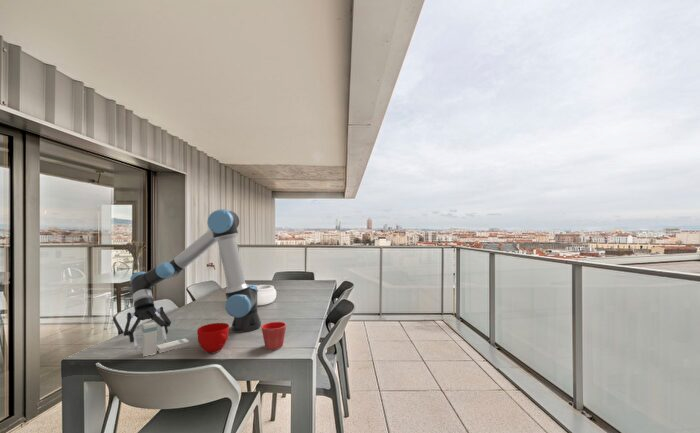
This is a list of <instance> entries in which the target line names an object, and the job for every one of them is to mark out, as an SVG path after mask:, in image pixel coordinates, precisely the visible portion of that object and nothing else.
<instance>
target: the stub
mask: <svg viewBox="0 0 700 433" xmlns="http://www.w3.org/2000/svg"><path fill="white" fill-rule="evenodd" d="M141 331H142V332H141V335H142V336H141V354H142V353H143V355H144V356H146V355H149V354H153V353H158V352H157V345H158V342H157V340H158V339H157V337H158V335H157V334H158V332H157V331H158V324H157V323H156V322H155V321H152V322H146V323H145V322H144V323H142V327H141ZM143 355H142V356H143ZM144 356H143V357H144Z"/></svg>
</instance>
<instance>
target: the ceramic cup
mask: <svg viewBox="0 0 700 433" xmlns="http://www.w3.org/2000/svg"><path fill="white" fill-rule="evenodd" d="M229 331H230V325H229V324H228V323H225V322H216V323H210V324H204V325H201V326H200V327H198V328H197V330H196V335H197V341H198V344H199V346H200V348H201V349H202V350H203V351H204V352H205V353H206V352H208V353H207V354H213V353H212V352H214V353H218V352H221V351H222V348H223V347H224V346H225V345H226V344H227V341H228V338H229V333H230V332H229ZM217 351H218V352H217Z"/></svg>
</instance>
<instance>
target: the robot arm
mask: <svg viewBox="0 0 700 433" xmlns="http://www.w3.org/2000/svg"><path fill="white" fill-rule="evenodd" d="M239 225H240V218H239V216H238V214H236V212H233V211H232V210H227V209H217V210H214V211H212V212H211V213H210V214H209V216H208V218H207V227H208V228H209V229H208V230H207V231H206V232H205V233H203V234H202V235H201V236H200V237H198V238H197V239H196V240H195V241H194V242H193V243H191V244H190V245H189V246H188V247H186V248H185V249H184V250H183V251H181V252H180V253H179V254H178V255H176V256H175V257H174V258H173V259H172V260H171V261H169V262H168V261H163V262H162V263H159V264H157V265H156V266H155V267H153V268H152V269H150V270H148V271H147V272H145V271H138V272H135V273H133V274H131V276H130V278H129V279H130V287H131V288H130V289H131V294H132V302H133V308H134V312H127V314H126V324H125V328H124V330H123V336H124V337H126V336H128V337H129V342H130V343H133V350H136V351H137V348H138V341H137V335H136V334H137V333H136V332H135V331H136V329H137V327H138V326H139V324H140V322H141V321H145V320H151V321H153V322H155V323H156V324H157V325H158V326H160V327H161V329H160V330H161V334H162V335H161V336H162V340H163V343H167V340H168V338H167V335H168V333H169V330H168V329H169V327H170V326H171V325H172V322H171V320H170V318H169V317H168V316H167V314H166V313H165V311H164V307H163V306H160V307H159V308H156V306H155V303H154V296H153V292H152V288H153V287H155V286H157V285H158V284H160V283H162V282H163V281H166V280H169V279H171V278H174V277H178V276H179V275H180V274H181V273H183V271H184V270H185V269H186V268H187V267H188V266H189V265H191V263H193V262H195V260H197V259H198V258H199V257H200V256H202V255H203V254H204V253H206V251H207V250H209V249H210V248H212V246H213V245H215V244H216V243H217V244H218V249H219V254H220V259H221V263H222V268H223V272H224V277H225V282H226V287H227V288H226V290H225V299H226V302H225V307H224V308H225V311H226V313H227V314H228V315H229V316H231V317H232V318H233V320H232V323H231V330H232V331H233V332H236V333H245V332H252V331H255V330H258V329H260V328H262V323H261V322H262V321H261V319H260V318H261V317H260V315H259V312H258V291H259V290H258V285H256V284H247V283H246V280H245V274H244V271H243V265H242V261H241V257H240V252H239V247H238V242H237V236H238V234H239V231H238V228H239ZM157 314H159V316H160V317H159V316H158V315H157ZM134 316H135V318H136V320H135V322H134V323H133V326H131V329H130V330H129V328H130V325H131V320H132V319H133V317H134Z"/></svg>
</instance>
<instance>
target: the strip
mask: <svg viewBox="0 0 700 433" xmlns="http://www.w3.org/2000/svg"><path fill="white" fill-rule="evenodd" d="M186 346H187V347H190V341H189V340H188V339H187V338H181V339H176V340H173V341H169V342H163V343H161V344H157V350H158V352H159V353H160V352H163V351H168V350H172V349H175V350H178V349H177V348H179V349H183V348H186ZM182 347H183V348H182ZM172 351H173V350H172ZM158 352H157V353H158ZM168 352H169V351H168ZM159 353H158V354H159Z"/></svg>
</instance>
